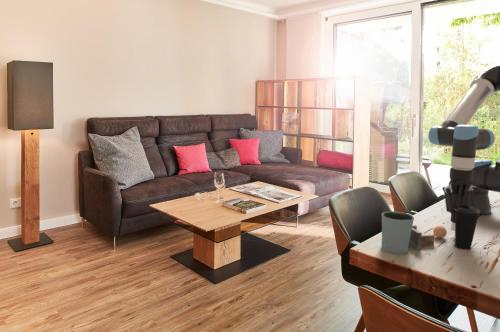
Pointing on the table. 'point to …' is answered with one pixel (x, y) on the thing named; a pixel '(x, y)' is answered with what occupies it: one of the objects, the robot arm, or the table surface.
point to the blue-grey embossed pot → (396, 231)
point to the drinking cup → (465, 225)
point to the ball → (439, 231)
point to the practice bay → (420, 239)
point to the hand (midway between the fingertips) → (455, 230)
